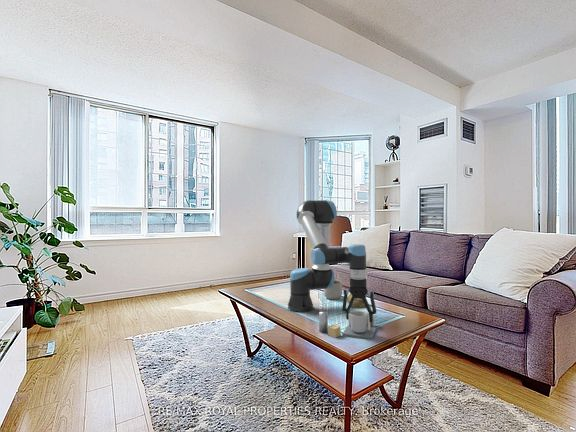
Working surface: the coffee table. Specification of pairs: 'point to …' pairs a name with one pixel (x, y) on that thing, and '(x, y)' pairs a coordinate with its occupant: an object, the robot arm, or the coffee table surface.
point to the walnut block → (370, 322)
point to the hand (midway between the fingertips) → (359, 327)
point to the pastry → (356, 302)
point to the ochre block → (334, 331)
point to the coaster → (365, 335)
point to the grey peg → (323, 322)
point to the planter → (334, 290)
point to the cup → (358, 321)
